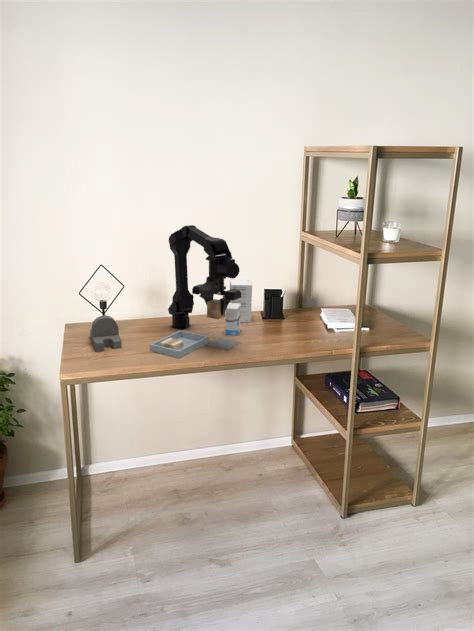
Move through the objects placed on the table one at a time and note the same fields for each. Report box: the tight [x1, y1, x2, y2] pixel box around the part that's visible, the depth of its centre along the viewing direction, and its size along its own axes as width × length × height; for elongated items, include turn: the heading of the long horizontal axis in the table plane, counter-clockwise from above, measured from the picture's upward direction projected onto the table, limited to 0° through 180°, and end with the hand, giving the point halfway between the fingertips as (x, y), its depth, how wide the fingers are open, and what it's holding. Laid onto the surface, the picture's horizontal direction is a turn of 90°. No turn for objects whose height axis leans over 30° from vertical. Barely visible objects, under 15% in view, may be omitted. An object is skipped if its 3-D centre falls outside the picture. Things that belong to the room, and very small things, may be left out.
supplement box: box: [229, 279, 253, 323], centre depth 245 cm, size 10×9×17 cm
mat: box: [205, 336, 242, 351], centre depth 215 cm, size 10×10×1 cm
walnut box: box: [206, 298, 226, 320], centre depth 211 cm, size 5×5×6 cm
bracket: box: [89, 315, 122, 353], centre depth 213 cm, size 10×18×11 cm, turn 20°
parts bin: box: [149, 329, 210, 359], centre depth 210 cm, size 13×19×3 cm
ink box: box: [225, 303, 242, 336], centre depth 227 cm, size 8×5×12 cm, turn 168°
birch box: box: [160, 338, 183, 350], centre depth 206 cm, size 6×6×4 cm
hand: (216, 314), depth 211 cm, fingers closed on walnut box, 5 cm apart
